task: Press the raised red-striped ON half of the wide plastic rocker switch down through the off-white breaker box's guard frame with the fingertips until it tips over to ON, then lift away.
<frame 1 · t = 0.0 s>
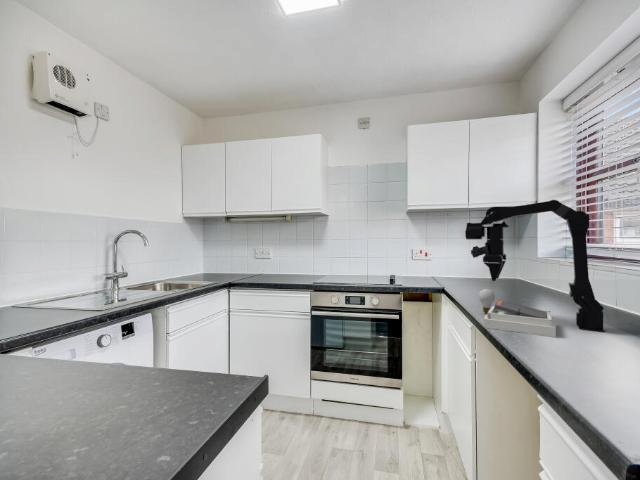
hand: (495, 279, 124), 15 cm above the countertop, fingers open, 9 cm apart
rocker: (519, 309, 111), point 6 cm above the countertop, hinge at -11.0°
light bulb: (486, 314, 130), on the countertop
breaker box: (519, 326, 111), on the countertop
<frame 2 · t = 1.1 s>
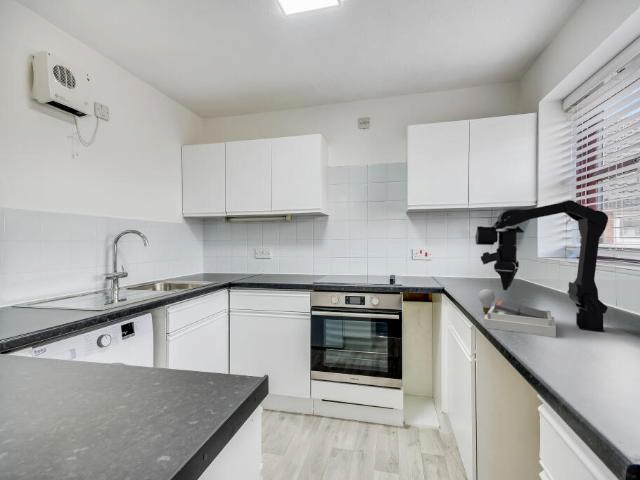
hand: (506, 288, 115), 13 cm above the countertop, fingers open, 9 cm apart
nothing on the countertop moved.
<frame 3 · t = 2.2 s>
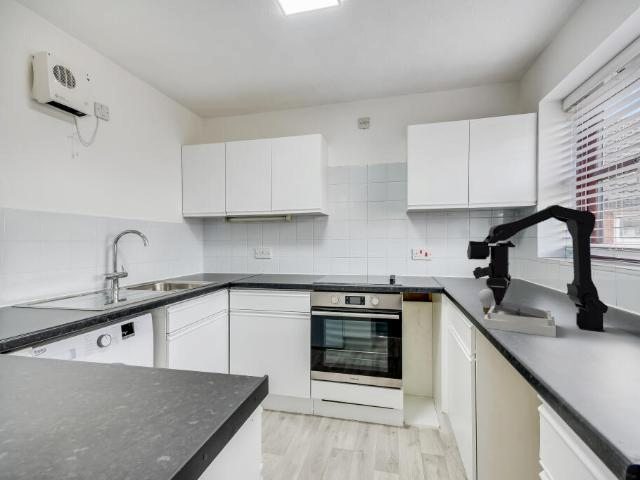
hand: (499, 303, 115), 7 cm above the countertop
rocker: (519, 309, 111), point 6 cm above the countertop, hinge at -9.3°, touching gripper
everything else where it was.
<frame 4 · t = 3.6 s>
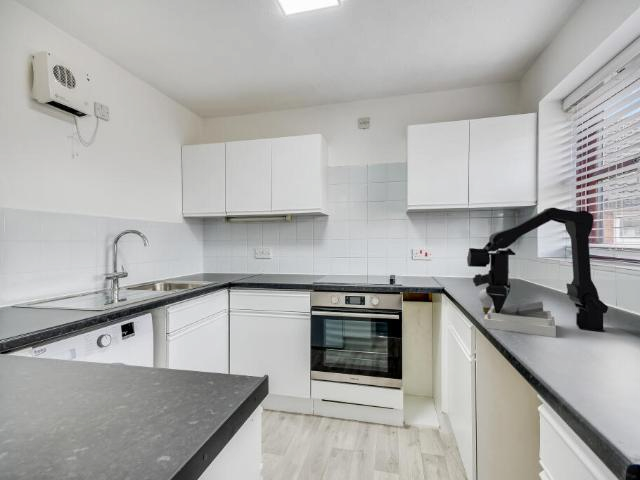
hand: (498, 310, 115), 5 cm above the countertop
rocker: (519, 309, 111), point 6 cm above the countertop, hinge at 17.0°, touching gripper
everything else where it was.
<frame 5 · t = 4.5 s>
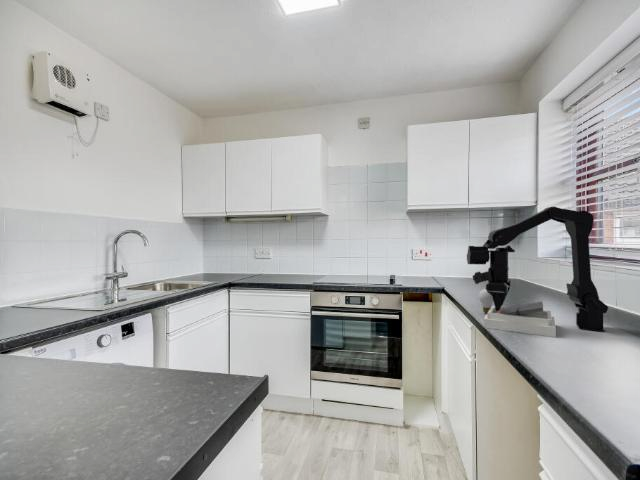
hand: (499, 308, 115), 6 cm above the countertop, fingers open, 9 cm apart
rocker: (519, 309, 111), point 6 cm above the countertop, hinge at 17.2°
everything else where it was.
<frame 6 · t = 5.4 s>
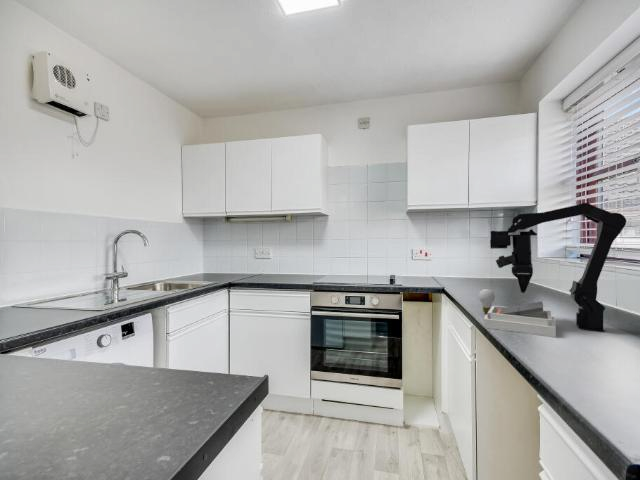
hand: (523, 290, 117), 11 cm above the countertop, fingers open, 9 cm apart
nothing on the countertop moved.
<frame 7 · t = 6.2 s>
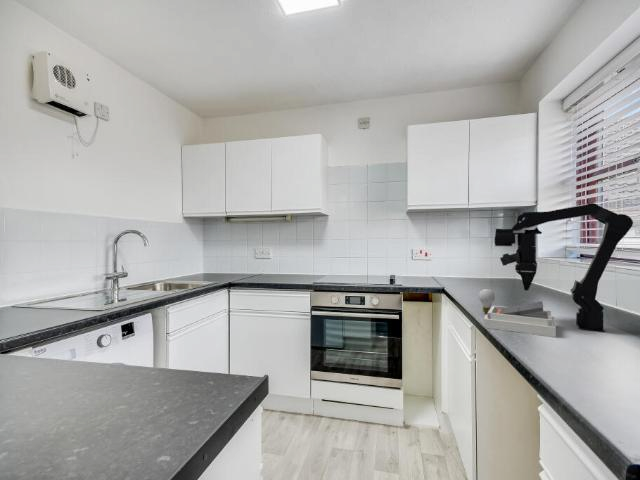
hand: (526, 288, 118), 12 cm above the countertop, fingers open, 9 cm apart
nothing on the countertop moved.
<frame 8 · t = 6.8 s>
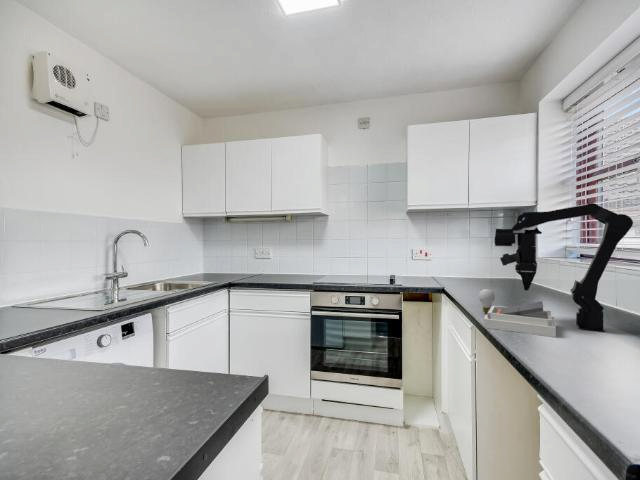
hand: (526, 288, 118), 12 cm above the countertop, fingers open, 9 cm apart
nothing on the countertop moved.
at the end: rocker at +17° (first picture: -11°); light bulb moved 0.2 cm from its start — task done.
